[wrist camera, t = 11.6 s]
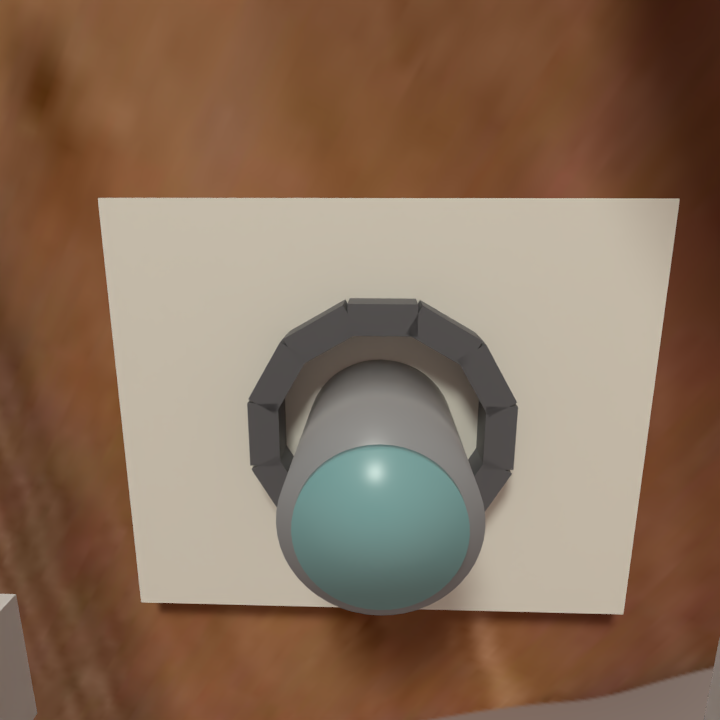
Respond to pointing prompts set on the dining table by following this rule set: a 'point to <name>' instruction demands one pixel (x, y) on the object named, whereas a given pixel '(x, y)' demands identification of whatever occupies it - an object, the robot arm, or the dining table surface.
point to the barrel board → (397, 343)
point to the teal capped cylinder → (380, 494)
